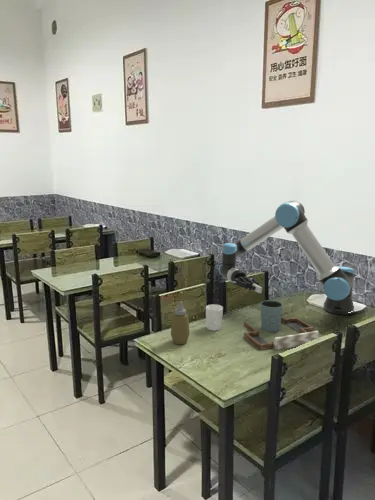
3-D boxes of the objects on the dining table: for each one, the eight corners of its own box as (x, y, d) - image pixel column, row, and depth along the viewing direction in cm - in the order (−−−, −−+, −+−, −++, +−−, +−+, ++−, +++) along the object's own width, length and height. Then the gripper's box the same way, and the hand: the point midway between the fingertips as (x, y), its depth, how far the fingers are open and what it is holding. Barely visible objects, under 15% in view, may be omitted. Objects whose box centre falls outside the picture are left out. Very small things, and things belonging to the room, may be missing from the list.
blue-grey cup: (273, 334, 187) (275, 309, 184) (254, 328, 193) (256, 303, 191) (285, 328, 194) (287, 303, 191) (266, 322, 201) (268, 298, 198)
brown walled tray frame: (292, 319, 205) (293, 309, 204) (329, 340, 181) (330, 329, 180) (231, 327, 193) (232, 317, 192) (262, 352, 169) (263, 340, 168)
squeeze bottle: (167, 339, 179) (168, 299, 176) (185, 336, 182) (185, 297, 179) (174, 347, 172) (175, 305, 168) (192, 344, 175) (193, 303, 171)
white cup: (221, 332, 188) (222, 311, 186) (203, 330, 190) (204, 309, 188) (223, 325, 196) (224, 305, 194) (206, 323, 197) (207, 303, 195)
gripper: (247, 282, 223) (271, 296, 202) (225, 284, 218) (248, 299, 197) (248, 269, 222) (272, 281, 200) (226, 270, 217) (248, 283, 195)
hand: (260, 290), depth 199 cm, fingers closed
